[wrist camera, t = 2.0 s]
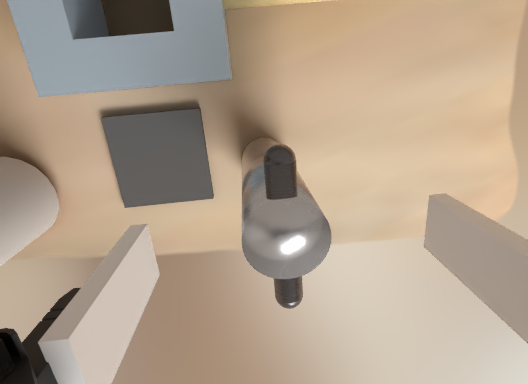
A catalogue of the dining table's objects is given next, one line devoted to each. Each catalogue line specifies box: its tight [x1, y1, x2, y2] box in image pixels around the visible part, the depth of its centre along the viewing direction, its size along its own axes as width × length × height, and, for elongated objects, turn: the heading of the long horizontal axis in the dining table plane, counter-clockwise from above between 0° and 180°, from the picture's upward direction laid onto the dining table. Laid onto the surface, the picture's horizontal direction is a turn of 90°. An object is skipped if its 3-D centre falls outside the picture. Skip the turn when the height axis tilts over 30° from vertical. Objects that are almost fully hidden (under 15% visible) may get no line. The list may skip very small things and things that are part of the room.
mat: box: [101, 108, 214, 208], centre depth 27 cm, size 8×8×1 cm
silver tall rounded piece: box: [242, 138, 331, 309], centre depth 21 cm, size 4×8×15 cm, turn 5°
